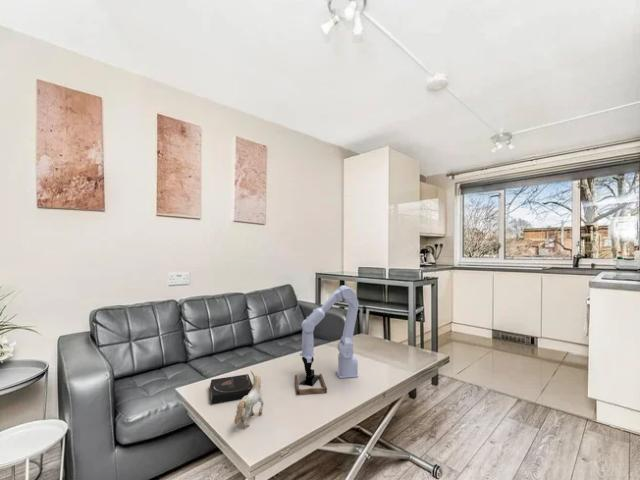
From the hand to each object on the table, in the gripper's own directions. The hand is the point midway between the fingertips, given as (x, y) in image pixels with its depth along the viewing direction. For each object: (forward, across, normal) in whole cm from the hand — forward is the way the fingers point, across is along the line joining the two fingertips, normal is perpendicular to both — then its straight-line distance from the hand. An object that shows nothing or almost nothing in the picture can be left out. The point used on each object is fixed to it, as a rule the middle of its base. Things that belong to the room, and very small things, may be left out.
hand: (307, 372), depth 147 cm
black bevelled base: (+2, +4, +1) cm, 4 cm away
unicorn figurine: (+2, +32, -26) cm, 42 cm away
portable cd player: (+3, +11, -35) cm, 37 cm away
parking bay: (+2, +10, 0) cm, 10 cm away
